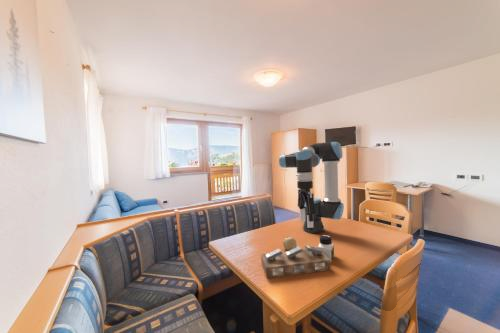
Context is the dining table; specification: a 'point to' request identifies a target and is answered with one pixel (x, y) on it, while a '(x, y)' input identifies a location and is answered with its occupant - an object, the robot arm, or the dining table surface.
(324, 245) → the medicine bottle
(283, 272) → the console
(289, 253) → the block
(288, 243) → the apple
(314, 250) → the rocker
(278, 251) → the block
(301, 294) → the dining table surface
